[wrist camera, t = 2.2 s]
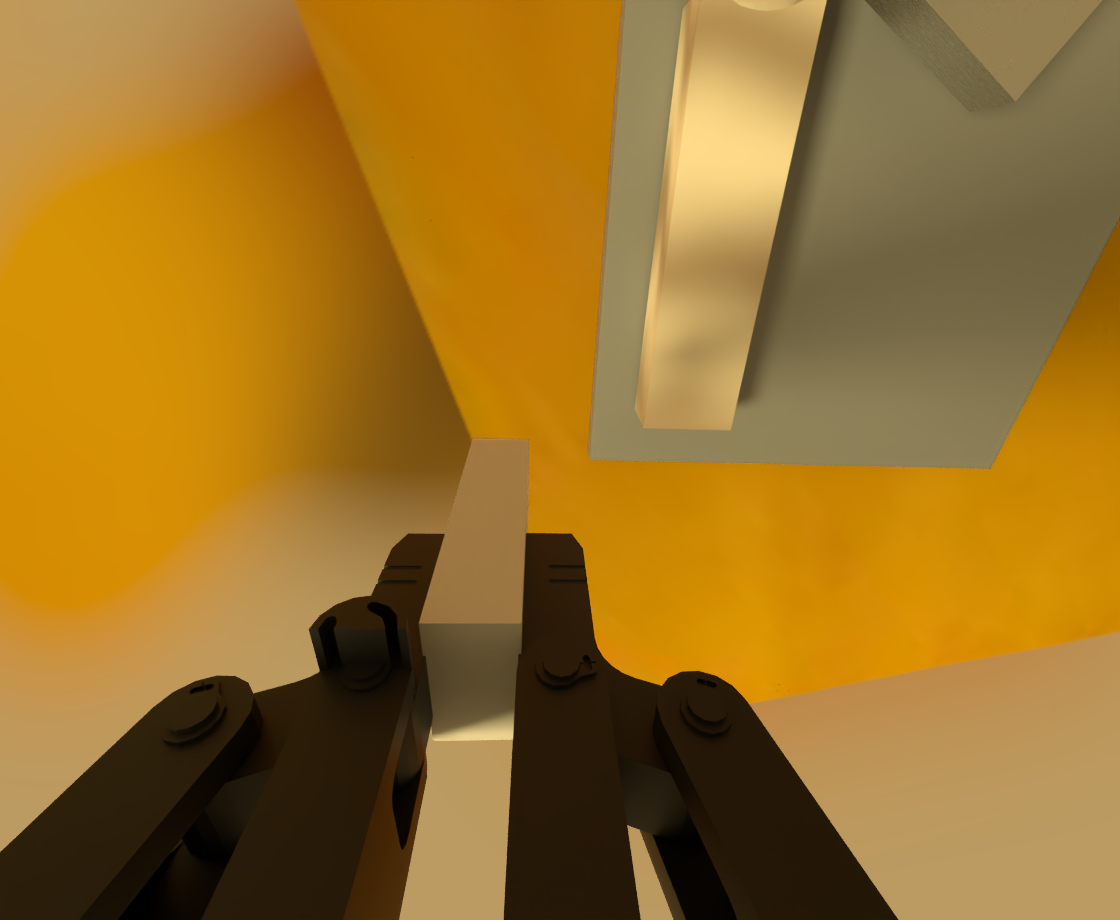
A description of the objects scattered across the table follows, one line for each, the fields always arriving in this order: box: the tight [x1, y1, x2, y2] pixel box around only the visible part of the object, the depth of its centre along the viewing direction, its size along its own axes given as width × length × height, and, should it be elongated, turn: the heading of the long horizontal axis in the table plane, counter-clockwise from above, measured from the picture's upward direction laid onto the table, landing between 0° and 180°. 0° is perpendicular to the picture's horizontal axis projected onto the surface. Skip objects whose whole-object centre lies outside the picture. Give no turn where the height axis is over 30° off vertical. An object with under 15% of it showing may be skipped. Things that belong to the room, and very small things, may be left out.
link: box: [635, 0, 827, 430], centre depth 18 cm, size 20×5×2 cm, turn 178°
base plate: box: [588, 0, 1120, 469], centre depth 21 cm, size 22×25×1 cm
